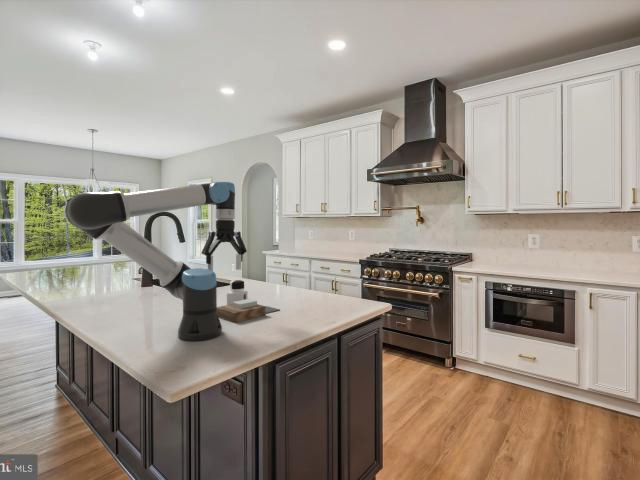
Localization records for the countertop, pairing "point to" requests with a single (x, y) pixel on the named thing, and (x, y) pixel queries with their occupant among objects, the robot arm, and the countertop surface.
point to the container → (236, 292)
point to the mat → (270, 309)
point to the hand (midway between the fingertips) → (224, 270)
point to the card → (244, 303)
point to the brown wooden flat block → (240, 312)
